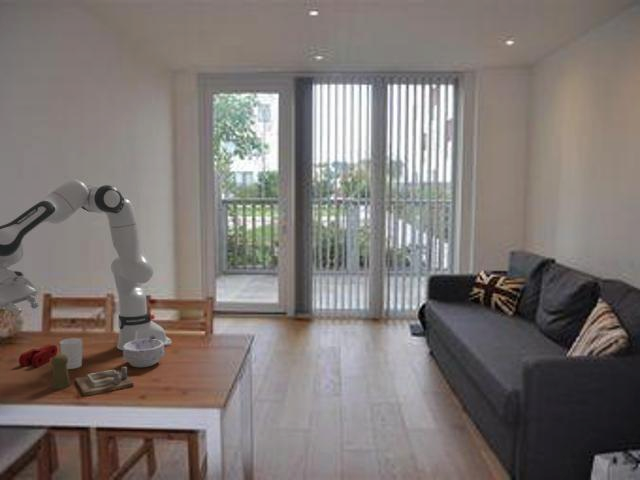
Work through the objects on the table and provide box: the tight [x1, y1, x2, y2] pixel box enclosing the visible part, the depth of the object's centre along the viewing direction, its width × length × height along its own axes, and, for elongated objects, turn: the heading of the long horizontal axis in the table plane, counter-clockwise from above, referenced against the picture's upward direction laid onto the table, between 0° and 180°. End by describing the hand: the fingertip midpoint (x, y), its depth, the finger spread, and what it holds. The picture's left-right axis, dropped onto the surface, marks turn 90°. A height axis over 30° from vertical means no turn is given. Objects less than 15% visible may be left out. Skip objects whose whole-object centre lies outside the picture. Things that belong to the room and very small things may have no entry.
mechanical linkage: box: [18, 344, 58, 368], centre depth 220 cm, size 16×7×5 cm, turn 169°
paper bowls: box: [122, 339, 165, 368], centre depth 217 cm, size 15×15×8 cm
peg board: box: [75, 366, 135, 397], centre depth 196 cm, size 16×16×5 cm
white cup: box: [59, 337, 83, 370], centre depth 214 cm, size 8×8×10 cm
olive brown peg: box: [51, 354, 71, 390], centre depth 193 cm, size 6×6×11 cm
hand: (28, 310), depth 194 cm, fingers open, 8 cm apart
